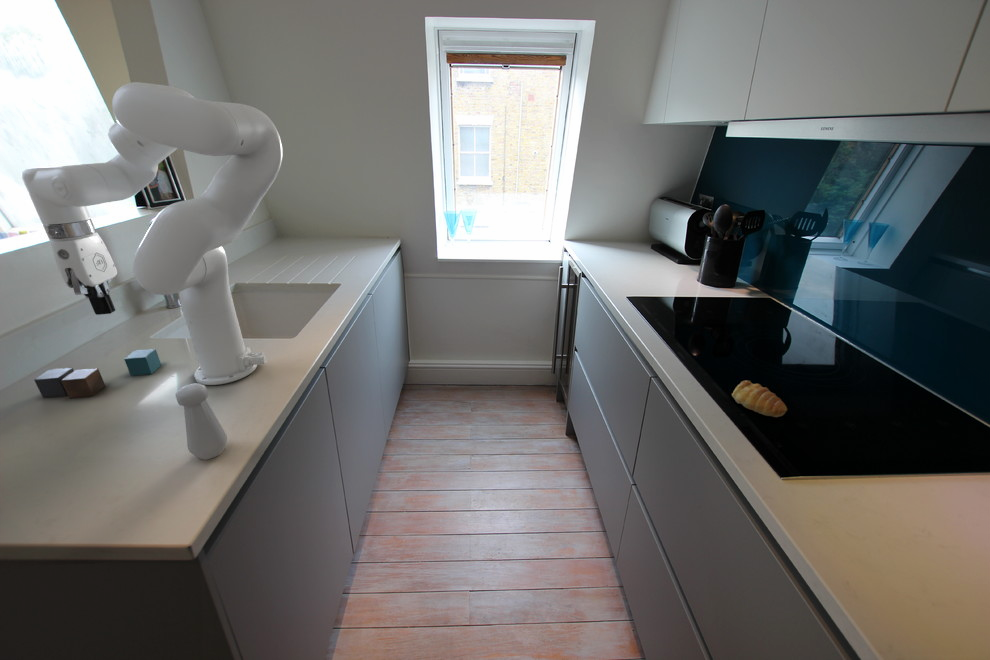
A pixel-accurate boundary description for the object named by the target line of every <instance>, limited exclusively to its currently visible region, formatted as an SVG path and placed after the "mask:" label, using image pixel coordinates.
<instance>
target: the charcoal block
mask: <svg viewBox="0 0 990 660" xmlns="http://www.w3.org/2000/svg"><path fill="white" fill-rule="evenodd" d="M73 371H75V369H74V368H73V367H65V368H63V367H62V368H53V369H51V368H50V369H48V370H46V371H45V372H44V373H42V374H41V375H39V376H37V377H36V378H34V383H35V385H36V386H37V389H38V391H39V393H40V395H41V397H42V398H43V399H44V398H57V397H67V396H68V394H67V392H66V390H65V388H64V386H63V384H62V382H61V380H62V379H64V378H65V377H66V376H68V375H69V374H70V373H72V372H73Z"/></svg>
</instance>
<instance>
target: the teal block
mask: <svg viewBox="0 0 990 660" xmlns="http://www.w3.org/2000/svg"><path fill="white" fill-rule="evenodd" d="M123 360H124V362H125V365H126V367H127V371H128V373H129V375H130V376H131V377H133V376H144V375H153V373H154V372H156V371H157V370H158V369H159V368H161V366H162V362H161V359H160V357H159V354H158V352H157V349H156V348H150V349H149V348H148V349H147V348H145V349H134V351H132V352H131V353H130V354H128V355H127V356H126V357H124V358H123Z"/></svg>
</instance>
